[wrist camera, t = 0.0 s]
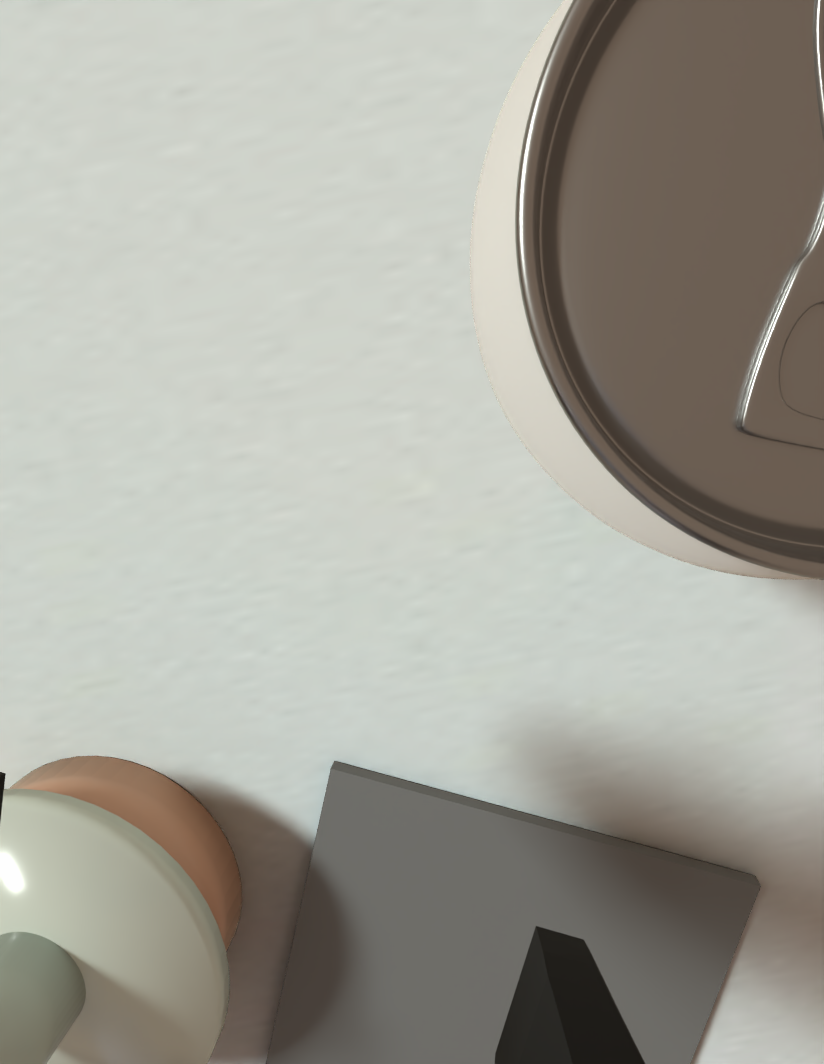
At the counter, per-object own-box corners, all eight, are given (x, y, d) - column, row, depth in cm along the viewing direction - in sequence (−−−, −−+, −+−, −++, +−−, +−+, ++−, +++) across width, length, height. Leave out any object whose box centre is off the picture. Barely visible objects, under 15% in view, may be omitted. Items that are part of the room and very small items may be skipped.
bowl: (218, 1024, 22) (175, 1122, 19) (-24, 951, 23) (-102, 1034, 20) (263, 798, 20) (223, 868, 17) (-3, 724, 21) (-85, 779, 18)
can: (797, 211, 15) (1726, -341, 4) (720, 490, 17) (1224, 716, 5) (513, 168, 16) (560, -432, 4) (461, 443, 17) (391, 552, 6)
